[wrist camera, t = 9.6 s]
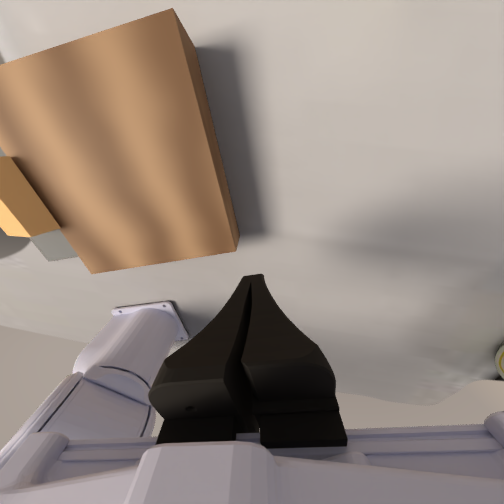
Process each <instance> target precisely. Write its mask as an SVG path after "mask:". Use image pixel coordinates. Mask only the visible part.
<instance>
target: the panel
mask: <svg viewBox="0 0 504 504" xmlns="http://www.w3.org/2000/svg"><path fill="white" fill-rule="evenodd" d="M0 147H1V149H2V150H3V151H4V153H5V154H6V156H10V157H11V159H12V160H13V162H14V163H15V164H16V166H17V167H18V169H19V170H20V171H21V173H22V174H23V176H24V177H25V178H26V180H27V181H28V183H29V184H30V185H31V187H32V188H33V190H34V191H35V192H36V194H37V195H38V197H39V198H40V199H41V201H42V202H43V204H44V205H45V207H46V208H47V209H48V211H49V212H50V214H51V215H52V216H53V218H54V219H55V221H56V222H57V223H58V225H59V226H60V231H61V232H62V234H63V235H64V236H65V238H66V239H67V241H68V242H69V243H70V245H71V246H72V248H73V249H74V250H75V252H76V253H77V255H78V256H79V257H80V259H81V260H82V261H83V263H84V264H85V266H86V267H87V268H88V270H89V271H90V273H91V274H96V273H102V272H108V271H115V270H121V269H127V268H134V267H140V266H146V265H153V264H159V263H165V262H172V261H178V260H184V259H191V258H197V257H203V256H210V255H216V254H222V253H229V252H235V251H236V249H237V245H238V241H239V237H240V235H239V230H238V226H237V222H236V218H235V214H234V210H233V205H232V201H231V197H230V193H229V189H228V184H227V180H226V176H225V172H224V168H223V163H222V159H221V155H220V151H219V147H218V143H217V138H216V134H215V130H214V126H213V122H212V117H211V113H210V109H209V105H208V101H207V96H206V92H205V88H204V84H203V80H202V76H201V71H200V67H199V63H198V59H197V55H196V50H195V46H194V45H193V43H192V41H191V39H190V38H189V36H188V34H187V32H186V31H185V29H184V27H183V25H182V23H181V22H180V20H179V18H178V16H177V15H176V13H175V11H174V9H173V8H171V9H168V10H165V11H162V12H159V13H156V14H153V15H150V16H147V17H144V18H141V19H138V20H135V21H132V22H129V23H126V24H123V25H120V26H117V27H114V28H111V29H108V30H104V31H101V32H98V33H95V34H92V35H89V36H86V37H83V38H80V39H77V40H74V41H71V42H68V43H65V44H62V45H59V46H56V47H53V48H50V49H47V50H44V51H41V52H38V53H35V54H32V55H29V56H26V57H23V58H20V59H17V60H14V61H11V62H8V63H5V64H2V65H0Z"/></svg>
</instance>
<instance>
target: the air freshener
mask: <svg viewBox="0 0 504 504" xmlns="http://www.w3.org/2000/svg"><path fill="white" fill-rule="evenodd" d="M495 366H496V369H497V371H498V373H499V374H500V375H501V376H502V377H503V379H504V342H503V343H502V344H501V345H500V348H499V350H498V351H497V354H496V356H495Z"/></svg>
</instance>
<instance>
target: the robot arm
mask: <svg viewBox="0 0 504 504" xmlns="http://www.w3.org/2000/svg"><path fill="white" fill-rule="evenodd" d="M165 305H166V306H165ZM111 312H112V314H113V315H114V316H113V317H112V318H111V319H110V320H109V321H108V323H107V324H106V325H105V326H104V327H103V328H102V329H101V330H100V331H99V332H98V333H97V334H96V336H95V337H94V338H93V339H92V340H91V341H90V342H89V343H88V344H87V345H86V346H85V348H84V349H83V350H82V351H81V353H80V354H79V355H78V357H77V359H76V361H75V364H74V367H73V374H71V375H68V376H66V378H65V379H64V380H63V381H62V382H61V383H60V384H59V385H58V386H57V387H56V388H55V389H54V390H53V392H52V393H51V394H50V395H49V396H48V397H47V398H46V399H45V400H44V402H43V403H42V404H41V405H40V406H39V407H38V408H37V409H36V411H35V412H34V413H33V414H32V415H31V416H30V417H29V418H28V420H27V421H26V422H25V423H24V424H23V425H22V426H21V428H20V429H19V430H18V431H17V432H16V433H15V434H14V436H13V437H12V438H11V439H10V440H9V441H8V442H7V444H6V445H5V446H4V447H3V448H2V450H1V451H0V504H504V411H501V412H496V413H493V414H490V415H489V416H488V417H487V418H486V419H485V421H484V424H471V425H446V426H418V427H393V428H366V429H344V426H343V422H342V419H341V416H340V414H339V406H338V402H337V399H336V396H335V388H336V380H335V376H334V373H333V371H332V369H331V367H330V365H329V363H328V361H327V359H326V358H325V356H324V354H323V353H322V351H321V350H320V348H319V347H318V345H317V344H315V343H314V342H313V341H312V340H310V339H309V338H308V337H307V336H306V335H305V334H303V333H302V332H301V331H300V330H299V329H298V328H297V327H296V326H295V325H294V324H293V323H292V322H291V321H290V320H289V319H288V318H287V316H286V315H285V314H284V313H283V312H282V310H281V309H280V308H279V306H278V305H277V304H276V302H275V300H274V299H273V297H272V296H271V294H270V292H269V290H268V288H267V286H266V284H265V280H264V275H263V274H256V275H249V276H243V278H242V279H241V281H240V283H239V285H238V286H237V288H236V290H235V291H234V293H233V294H232V296H231V297H230V299H229V300H228V302H227V303H226V304H225V306H224V307H223V308H222V310H221V311H220V312H219V313H218V314H217V316H216V317H215V318H214V319H213V320H212V321H211V322H210V323H209V324H208V325H207V326H206V327H205V328H204V329H203V330H202V331H201V332H200V333H198V334H197V335H196V336H195V337H194V338H193V339H191V340H190V341H189V342H188V343H186V344H185V345H184V346H183V347H181V348H180V349H178V350H177V351H176V352H174V353H173V354H171V355H170V356H169V357H167V356H168V353H169V351H170V349H171V347H172V345H173V343H174V341H179V340H187V339H188V337H189V336H188V334H187V332H186V330H185V328H184V326H183V324H182V322H181V320H180V319H179V317H178V315H177V313H176V311H175V309H174V307H173V305H172V303H171V302H169V301H167V302H159V303H152V304H144V305H136V306H129V307H121V308H114V309H113V310H112V311H111ZM156 410H157V412H158V413H159V414H160V415H161V416H162V417H163V418H164V422H163V425H162V427H161V430H160V433H159V436H158V437H151V434H152V431H153V428H154V424H155V419H156V414H155V411H156ZM259 428H260V432H259Z"/></svg>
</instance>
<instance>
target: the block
mask: <svg viewBox="0 0 504 504" xmlns="http://www.w3.org/2000/svg"><path fill="white" fill-rule="evenodd" d="M0 227H1V228H2V229H3V230H4V231H5V232H6V234H7V235H9V236H23V237H33V236H37V235H40V234H43V233H46V232H50V231H53V230H56V229H60V226H59V225H58V223H57V222H56V221H55V219H54V218H53V216H52V215H51V214H50V212H49V211H48V209H47V208H46V207H45V205H44V204H43V202H42V201H41V199H40V198H39V197H38V195H37V194H36V192H35V191H34V190H33V188H32V187H31V185H30V184H29V183H28V181H27V180H26V178H25V177H24V176H23V174H22V173H21V171H20V170H19V169H18V167H17V166H16V164H15V163H14V162H13V160H12V159H11V157H10V156H2V157H0Z"/></svg>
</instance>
